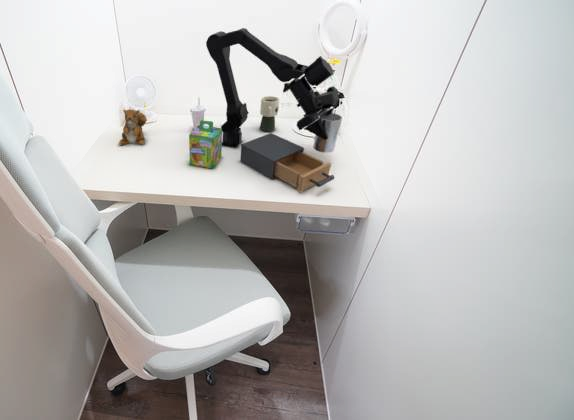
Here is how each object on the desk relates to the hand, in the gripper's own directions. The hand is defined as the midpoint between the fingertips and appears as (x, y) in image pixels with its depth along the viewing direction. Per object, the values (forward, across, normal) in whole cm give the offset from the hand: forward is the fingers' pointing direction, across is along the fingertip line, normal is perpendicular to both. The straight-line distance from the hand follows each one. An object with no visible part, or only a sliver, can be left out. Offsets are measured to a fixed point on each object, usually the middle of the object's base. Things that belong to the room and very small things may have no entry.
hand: (330, 135), depth 105 cm
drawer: (+6, -14, +8) cm, 17 cm away
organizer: (-3, -10, +18) cm, 21 cm away
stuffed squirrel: (-41, -24, +58) cm, 75 cm away
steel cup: (+3, 0, +4) cm, 5 cm away
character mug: (-14, +15, +29) cm, 35 cm away
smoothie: (-30, -2, +46) cm, 55 cm away
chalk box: (-17, -22, +32) cm, 43 cm away
